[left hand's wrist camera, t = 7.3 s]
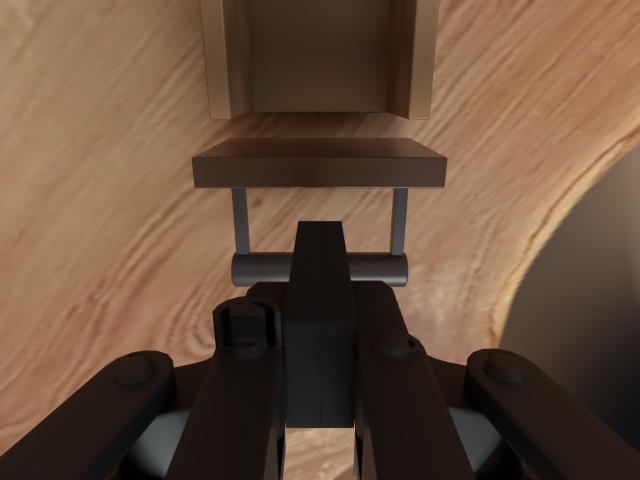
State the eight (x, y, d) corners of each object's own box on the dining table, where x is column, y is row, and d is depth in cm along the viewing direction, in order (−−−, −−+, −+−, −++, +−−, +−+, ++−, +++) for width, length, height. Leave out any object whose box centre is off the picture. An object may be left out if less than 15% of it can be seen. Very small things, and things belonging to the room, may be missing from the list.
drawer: (400, 259, 25) (430, 321, 18) (238, 258, 25) (208, 320, 18) (445, -344, 16) (533, -657, 9) (195, -344, 16) (104, -655, 9)
